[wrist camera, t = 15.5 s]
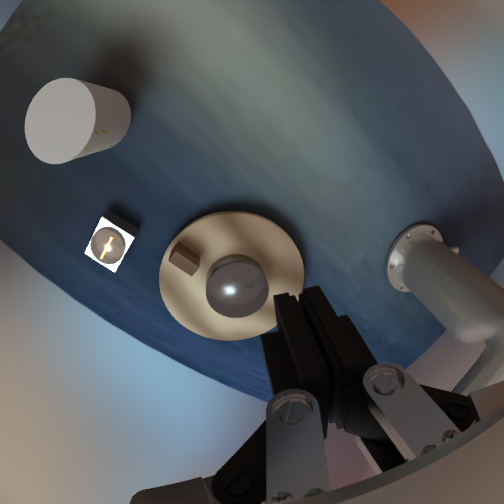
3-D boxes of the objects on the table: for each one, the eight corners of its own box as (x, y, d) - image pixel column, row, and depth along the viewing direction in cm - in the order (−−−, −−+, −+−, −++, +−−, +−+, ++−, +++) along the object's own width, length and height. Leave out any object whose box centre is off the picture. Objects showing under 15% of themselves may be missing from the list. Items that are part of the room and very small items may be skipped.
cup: (77, 154, 32) (29, 171, 21) (73, 96, 29) (23, 91, 18) (133, 144, 33) (99, 155, 22) (129, 83, 30) (94, 68, 19)
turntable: (220, 179, 35) (221, 186, 31) (328, 266, 43) (339, 282, 39) (135, 290, 40) (128, 308, 36) (241, 351, 47) (244, 371, 43)
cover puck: (231, 242, 37) (233, 252, 35) (277, 275, 40) (281, 287, 38) (194, 285, 39) (193, 297, 37) (239, 314, 42) (241, 327, 40)
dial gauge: (109, 209, 36) (99, 218, 32) (139, 229, 38) (132, 240, 34) (91, 244, 37) (82, 255, 34) (120, 262, 39) (113, 275, 36)
